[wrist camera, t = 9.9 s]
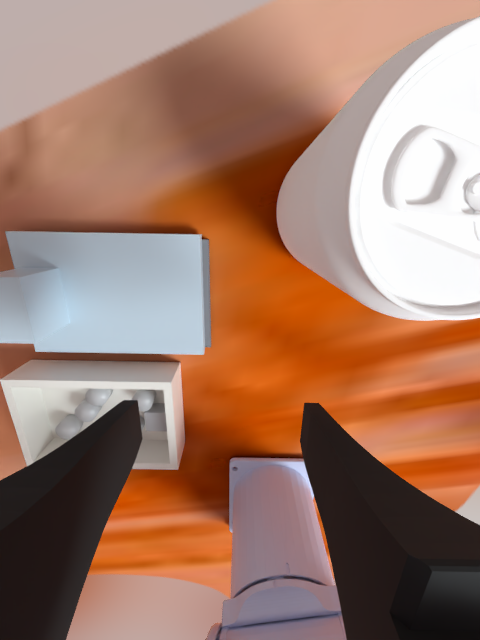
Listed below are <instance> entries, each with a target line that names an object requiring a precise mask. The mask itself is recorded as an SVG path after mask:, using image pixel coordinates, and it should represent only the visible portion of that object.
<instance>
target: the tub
mask: <svg viewBox="0 0 480 640" xmlns="http://www.w3.org/2000/svg"><path fill="white" fill-rule="evenodd" d="M0 382H1V385H2V388H3V391H4V394H5V398H6V401H7V404H8V407H9V410H10V414H11V417H12V420H13V423H14V426H15V429H16V433H17V436H18V439H19V442H20V445H21V449H22V452H23V455H24V458H25V461H26V464H27V466H29V465H30V464H32V463H34V462H35V461H37V460H39V459H41V458H42V457H44V456H46V455H47V454H49V453H50V452H52V451H54V450H55V449H57V448H58V447H60V446H61V445H63V444H64V443H65V442H67V441H68V440H70V439H71V438H73V437H74V436H76V435H77V434H78V433H80V432H81V431H83V430H84V429H86V428H87V427H88V426H90V425H91V424H92V423H94V422H95V421H96V420H98V419H99V418H100V417H102V416H103V415H104V414H105V413H107V412H108V411H109V410H111V409H112V408H113V407H115V406H116V405H117V404H119V403H120V402H122V401H123V400H138V407H139V414H140V422H141V430H142V438H143V439H142V442H141V445H140V448H139V451H138V454H137V457H136V460H135V463H134V465H133V467H132V469H164V470H178V468H179V464H180V460H181V457H182V453H183V449H184V445H185V428H184V412H183V396H182V380H181V365H180V362H143V361H81V360H30V361H28V362H27V363H25V364H23V365H22V366H20V367H19V368H17V369H16V370H14V371H13V372H11V373H9V374H8V375H6V376H5V377H3V378H2V379H0Z"/></svg>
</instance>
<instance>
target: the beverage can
mask: <svg viewBox="0 0 480 640" xmlns="http://www.w3.org/2000/svg"><path fill="white" fill-rule="evenodd" d="M276 216H277V225H278V230H279V233H280V236H281V239H282V241H283V243H284V245H285V246H286V248H287V249H288V251H289V252H290V253H291V255H292V256H293V257H294V258H295V259H296V260H298V261H299V262H300V263H302V264H303V265H305V266H306V267H308V268H309V269H311V270H312V271H314V272H315V273H317V274H318V275H320V276H321V277H323V278H324V279H326V280H327V281H329V282H330V283H332V284H333V285H335V286H336V287H338V288H339V289H341V290H342V291H344V292H345V293H347V294H348V295H350V296H351V297H353V298H354V299H356V300H357V301H359V302H361V303H362V304H364V305H365V306H367V307H369V308H371V309H373V310H375V311H377V312H380V313H383V314H385V315H389V316H392V317H396V318H401V319H408V320H422V321H428V320H465V319H474V318H480V16H479V17H477V18H474V19H468V20H464V21H460V22H457V23H454V24H451V25H448V26H445V27H443V28H440V29H438V30H435V31H433V32H431V33H429V34H427V35H425V36H423V37H421V38H419V39H418V40H416V41H414V42H413V43H411V44H409V45H408V46H406V47H405V48H403V49H402V50H400V51H399V52H398V53H396V54H395V55H394V56H392V57H391V58H390V59H389V60H387V61H386V62H385V63H384V64H383V65H382V66H380V67H379V68H378V69H377V70H376V71H375V72H374V73H373V74H372V75H371V76H370V77H369V78H368V79H367V80H366V81H365V83H364V84H363V85H362V86H361V87H360V88H359V89H358V91H357V92H356V93H355V94H354V95H353V96H352V97H351V99H350V100H349V101H348V102H347V103H346V104H345V105H344V107H343V108H342V109H341V110H340V111H339V112H338V113H337V115H336V116H335V117H334V118H333V119H332V120H331V122H330V123H329V124H328V125H327V126H326V127H325V128H324V130H323V131H322V132H321V133H320V134H319V135H318V136H317V138H316V139H315V140H314V141H313V142H312V143H311V145H310V146H309V147H308V148H307V149H306V150H305V151H304V153H303V154H302V155H301V156H300V157H299V158H298V159H297V161H296V162H295V163H294V164H293V166H292V167H291V168H290V170H289V171H288V173H287V175H286V177H285V179H284V181H283V183H282V186H281V188H280V191H279V195H278V200H277V209H276Z"/></svg>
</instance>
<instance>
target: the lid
mask: <svg viewBox="0 0 480 640" xmlns="http://www.w3.org/2000/svg"><path fill="white" fill-rule="evenodd" d="M5 233H6V237H7V241H8V245H9V249H10V253H11V257H12V261H13V265H14V269H12V270H7V271H2V272H0V343H28V344H34V347H35V351H36V352H78V353H137V354H196V355H204V352H205V333H204V298H203V263H202V234H160V233H102V232H44V231H5Z"/></svg>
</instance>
